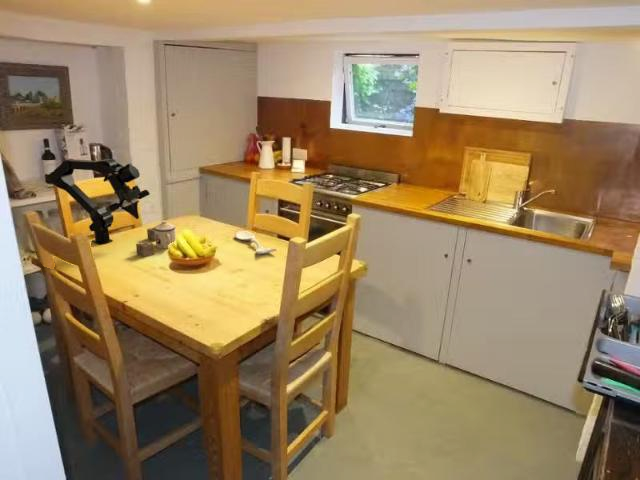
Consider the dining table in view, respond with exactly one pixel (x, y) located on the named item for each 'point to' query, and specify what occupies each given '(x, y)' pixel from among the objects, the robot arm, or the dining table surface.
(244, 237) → the spoon
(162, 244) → the teacup with lid
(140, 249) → the walnut block two dots
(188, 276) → the dining table surface
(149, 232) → the walnut block three dots
